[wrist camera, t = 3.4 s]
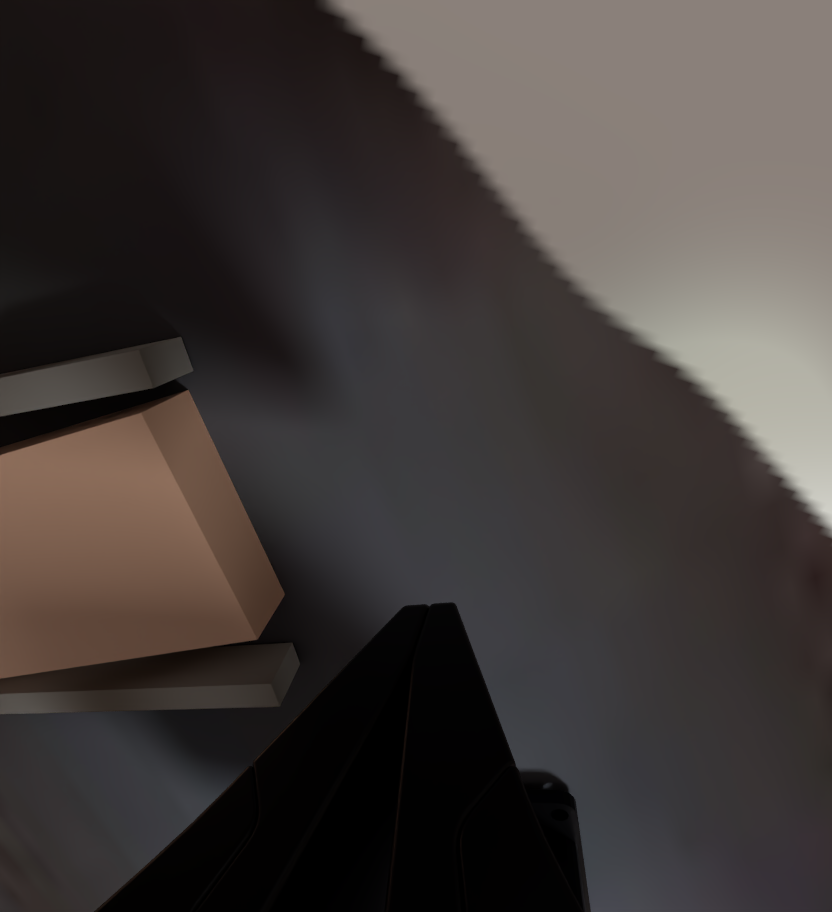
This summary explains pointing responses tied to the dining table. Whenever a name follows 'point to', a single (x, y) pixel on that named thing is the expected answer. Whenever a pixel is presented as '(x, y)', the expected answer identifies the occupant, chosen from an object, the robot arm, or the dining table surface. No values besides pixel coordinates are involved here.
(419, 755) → the robot arm
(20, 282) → the dining table surface
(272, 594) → the terracotta tile
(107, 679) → the birch dock
